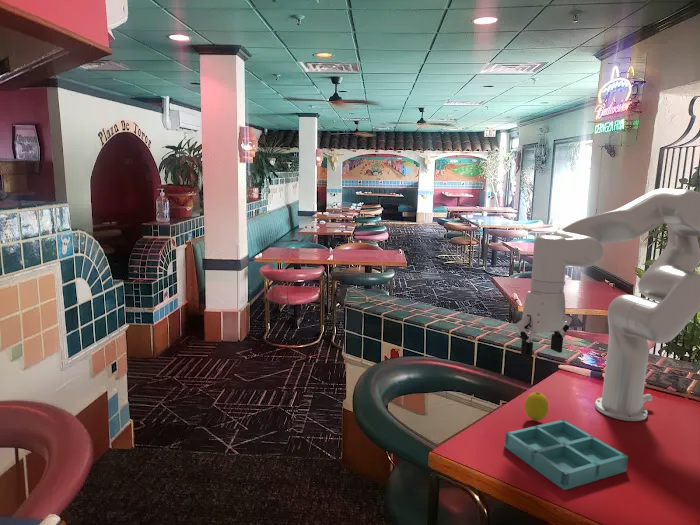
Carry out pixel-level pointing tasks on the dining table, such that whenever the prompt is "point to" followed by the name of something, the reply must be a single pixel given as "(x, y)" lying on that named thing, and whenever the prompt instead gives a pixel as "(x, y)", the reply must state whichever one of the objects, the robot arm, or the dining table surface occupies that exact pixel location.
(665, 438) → the dining table surface
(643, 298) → the robot arm
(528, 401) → the lemon
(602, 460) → the square compartment tray
